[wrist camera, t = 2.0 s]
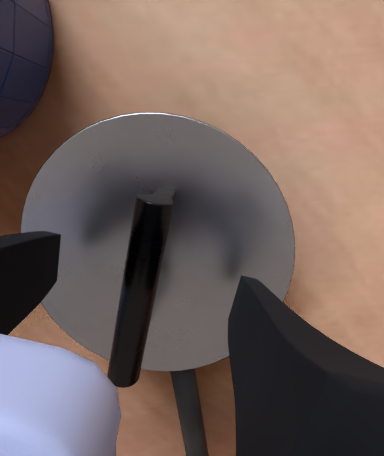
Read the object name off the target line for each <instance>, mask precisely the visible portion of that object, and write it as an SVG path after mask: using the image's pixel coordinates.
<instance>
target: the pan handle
mask: <svg viewBox="0 0 384 456" xmlns="http://www.w3.org/2000/svg"><path fill="white" fill-rule="evenodd" d="M170 372H171V377H172V383H173V388H174V393H175V398H176V404H177V409H178V414H179V419H180V425H181V430H182V435H183V440H184V446H185V451H186V456H209V454H208V448H207V442H206V436H205V430H204V424H203V417H202V411H201V405H200V399H199V393H198V386H197V380H196V374H195V368H194V369H188V370H181V371H170Z"/></svg>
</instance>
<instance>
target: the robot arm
mask: <svg viewBox="0 0 384 456" xmlns="http://www.w3.org/2000/svg"><path fill="white" fill-rule="evenodd" d="M60 241H61V234H57V233H52V232H48V231H34V232H25V233H18V234H11V235H5V236H0V456H116V440H117V434H118V429H119V424H120V418H121V412H120V406H119V399H118V392H117V388H116V387H115V386H114V384H113V383H112V382H111V381H110V380H109V378H108V377H107V376H106V375H105V374H104V373H103V371H102V370H101V369H100V368H99V367H98V366H97V364H96V363H95V362H93V361H91V360H89V359H86V358H84V357H82V356H80V355H78V354H75V353H73V352H71V351H69V350H67V349H64V348H61V347H57V346H52V345H48V344H43V343H39V342H34V341H30V340H26V339H21V338H17V337H12V336H8V334H9V333H10V332H11V331H12V330H13V329H14V328H15V327H16V326H17V325H18V324H19V323H20V322H21V321H22V320H23V319H24V318H25V317H26V316H27V315H28V314H29V313H30V312H31V311H32V310H33V309H34V308H35V307H36V306H37V305H38V304H39V303H40V302H41V301H42V300H43V299H44V298H45V297H46V295H47V294H48V293H49V291H50V290H51V289H52V287H53V286H54V284H55V283H56V282H57V276H58V264H59V253H60ZM228 349H229V357H230V365H231V372H232V380H233V388H234V396H235V409H236V456H384V368H383V367H381V366H379V365H377V364H375V363H373V362H371V361H369V360H367V359H365V358H363V357H361V356H359V355H357V354H355V353H354V352H352V351H350V350H348V349H347V348H345V347H343V346H342V345H340V344H338V343H336V342H335V341H333V340H332V339H330V338H328V337H327V336H325V335H324V334H323V333H321V332H320V331H318V330H317V329H315V328H314V327H312V326H311V325H310V324H308V323H307V322H306V321H304V320H303V319H302V318H301V317H300V316H298V315H297V314H296V313H295V312H293V311H292V310H291V309H290V308H289V307H288V306H286V305H285V304H284V303H283V302H282V301H281V300H280V299H279V298H278V297H277V296H276V295H275V294H273V293H272V292H271V291H270V290H269V289H268V288H267V287H266V286H265V285H264V284H263V283H262V282H260V281H259V280H258V279H256V278H251V277H247V276H242V275H241V277H240V281H239V284H238V287H237V291H236V294H235V297H234V301H233V304H232V308H231V311H230V314H229V318H228Z"/></svg>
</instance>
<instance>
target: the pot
mask: <svg viewBox="0 0 384 456" xmlns="http://www.w3.org/2000/svg"><path fill="white" fill-rule="evenodd" d="M52 53H53V30H52V20H51V13H50V9H49V4H48V0H0V137H2V136H4V135H6V134H8V133H9V132H11V131H12V130H14V129H15V128H17V127H18V126H19V125H20V124H21V123H22V122H23V121H24V120H25V119H26V118H27V117H28V116H29V114H30V113H31V112H32V111H33V109H34V108H35V106H36V105H37V103H38V101H39V99H40V97H41V96H42V93H43V91H44V88H45V86H46V83H47V80H48V76H49V72H50V68H51V61H52Z"/></svg>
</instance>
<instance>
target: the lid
mask: <svg viewBox="0 0 384 456" xmlns="http://www.w3.org/2000/svg"><path fill="white" fill-rule="evenodd" d="M34 231H48V232H52V233H57V234H61V241H60V253H59V264H58V276H57V282H56V283H55V284H54V286H53V287H52V289H51V290H50V291H49V293H48V294H47V295H46V297H45V298H44V299H43V300H42V301H41V304H42V306H43V307H44V308H45V310H46V311H47V312H48V314H49V315H50V316H51V318H52V319H53V320H54V321H55V322H56V323H57V324H58V325H59V326H60V327H61V328H62V329H63V331H64V332H66V333H67V334H68V335H69V336H70V337H72V338H73V339H74V340H75V341H76V342H78V343H79V344H81V345H82V346H84V347H85V348H87V349H88V350H90V351H92V352H94V353H96V354H98V355H100V356H101V357H103V358H106V359H108V360H110V361H109V367H108V373H107V376H108V378H109V380H110V381H111V382H112V383H113V384H114V385H115V386H117V387H122V388H124V387H130V386H132V385H133V384H135V383H136V382H137V381H138V379H139V375H140V370H141V369H144V370H150V371H181V370H188V369H194V368H199V367H202V366H206V365H209V364H212V363H215V362H217V361H220V360H222V359H225V358H227V357H228V356H229V349H228V318H229V314H230V311H231V308H232V304H233V301H234V297H235V294H236V291H237V287H238V284H239V281H240V277H241V275H242V276H247V277H251V278H256V279H258V280H259V281H260V282H262V283H263V284H264V285H265V286H266V287H267V288H268V289H269V290H270V291H271V292H272V293H273V294H275V295H276V296H277V297H278V298H279V299H280V300H281V301H282V302H283V301H284V298H285V296H286V294H287V291H288V289H289V285H290V282H291V278H292V275H293V268H294V261H295V237H294V230H293V224H292V219H291V216H290V213H289V210H288V206H287V203H286V201H285V199H284V197H283V195H282V193H281V191H280V189H279V186H278V185H277V183H276V182H275V180H274V179H273V177H272V176H271V174H270V173H269V171H268V170H267V169H266V167H265V166H264V165H263V164H262V163H261V162H260V161H259V160H258V158H257V157H256V156H255V155H254V154H253V153H252V152H250V151H249V150H248V149H247V148H246V147H245V146H243V145H242V144H241V143H240V142H239V141H237V140H235V139H234V138H232V137H231V136H229V135H228V134H226V133H225V132H223V131H221V130H219V129H217V128H215V127H213V126H210V125H208V124H206V123H204V122H201V121H198V120H195V119H191V118H188V117H185V116H180V115H174V114H167V113H149V112H141V113H133V114H125V115H120V116H116V117H113V118H109V119H106V120H102V121H100V122H98V123H95V124H93V125H91V126H89V127H86V128H84V129H83V130H81V131H80V132H78V133H77V134H75V135H73V136H72V137H70V138H69V139H68V140H66V141H65V142H64V143H63V144H62V145H61V146H60V147H58V148H57V149H56V150H55V151H54V152H53V153H52V155H51V156H50V157H49V158H48V159H47V160H46V162H45V163H44V164H43V165H42V167H41V169H40V170H39V172H38V174H37V175H36V177H35V178H34V180H33V183H32V185H31V187H30V190H29V192H28V194H27V197H26V201H25V205H24V209H23V212H22V221H21V233H25V232H34Z"/></svg>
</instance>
